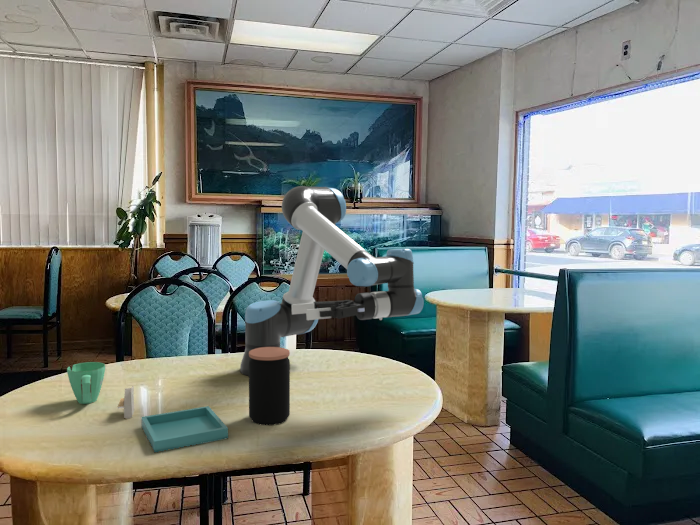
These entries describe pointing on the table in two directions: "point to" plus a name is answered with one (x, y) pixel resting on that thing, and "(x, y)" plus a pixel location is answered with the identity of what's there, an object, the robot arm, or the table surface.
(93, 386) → the mug
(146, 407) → the table surface
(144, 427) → the tray
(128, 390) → the architectural model
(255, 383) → the coffee jar
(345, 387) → the table surface
